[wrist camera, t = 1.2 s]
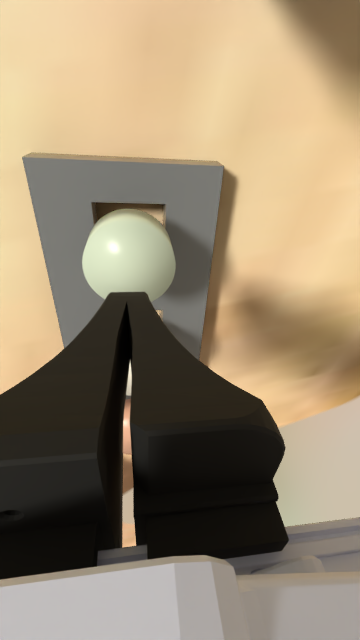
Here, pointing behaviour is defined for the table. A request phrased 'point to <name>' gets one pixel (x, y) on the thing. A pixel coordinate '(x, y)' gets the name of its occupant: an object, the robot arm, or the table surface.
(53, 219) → the panel
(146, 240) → the button sage
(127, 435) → the button terracotta
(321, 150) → the table surface
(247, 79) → the table surface
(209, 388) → the robot arm
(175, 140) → the table surface
